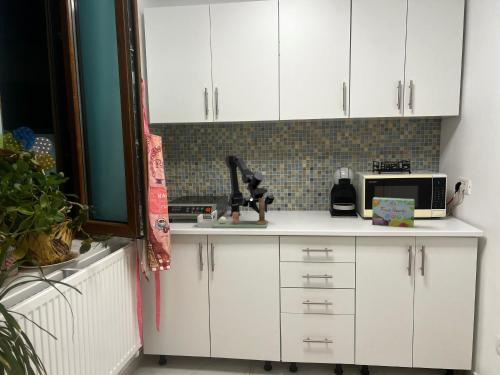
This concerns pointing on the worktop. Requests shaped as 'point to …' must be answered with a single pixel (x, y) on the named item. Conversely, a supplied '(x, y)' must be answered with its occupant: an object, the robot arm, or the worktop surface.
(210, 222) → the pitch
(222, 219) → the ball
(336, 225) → the worktop surface
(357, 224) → the worktop surface
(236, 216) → the post with bar block
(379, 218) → the snack box
